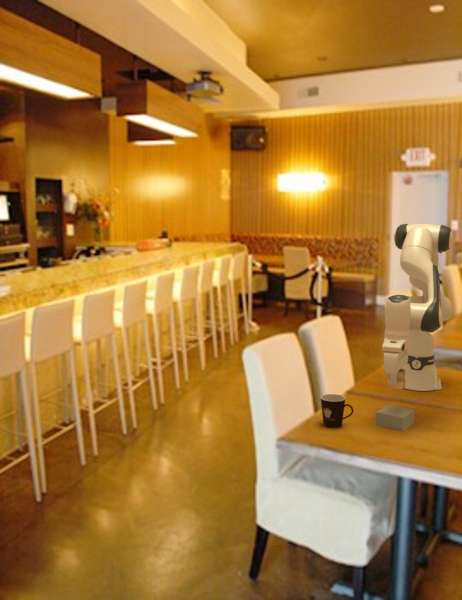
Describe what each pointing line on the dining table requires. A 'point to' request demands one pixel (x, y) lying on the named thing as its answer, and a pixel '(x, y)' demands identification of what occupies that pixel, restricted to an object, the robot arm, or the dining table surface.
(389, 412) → the block
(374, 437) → the dining table surface
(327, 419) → the coffee mug
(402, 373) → the oak cube
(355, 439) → the dining table surface
